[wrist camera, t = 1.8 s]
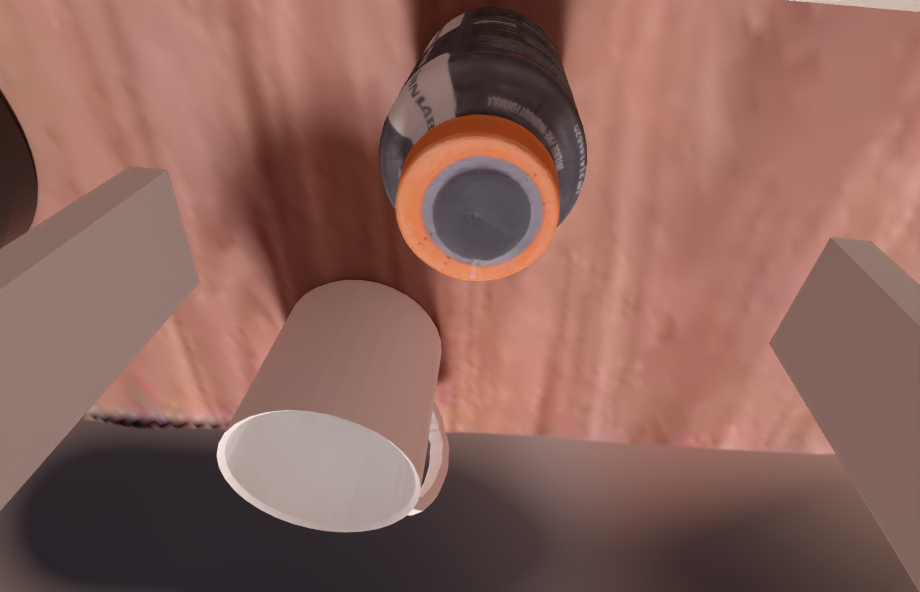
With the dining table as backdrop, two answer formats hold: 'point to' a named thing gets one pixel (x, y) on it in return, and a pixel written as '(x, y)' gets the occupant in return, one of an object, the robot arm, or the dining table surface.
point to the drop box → (875, 3)
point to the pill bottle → (483, 147)
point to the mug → (342, 413)
